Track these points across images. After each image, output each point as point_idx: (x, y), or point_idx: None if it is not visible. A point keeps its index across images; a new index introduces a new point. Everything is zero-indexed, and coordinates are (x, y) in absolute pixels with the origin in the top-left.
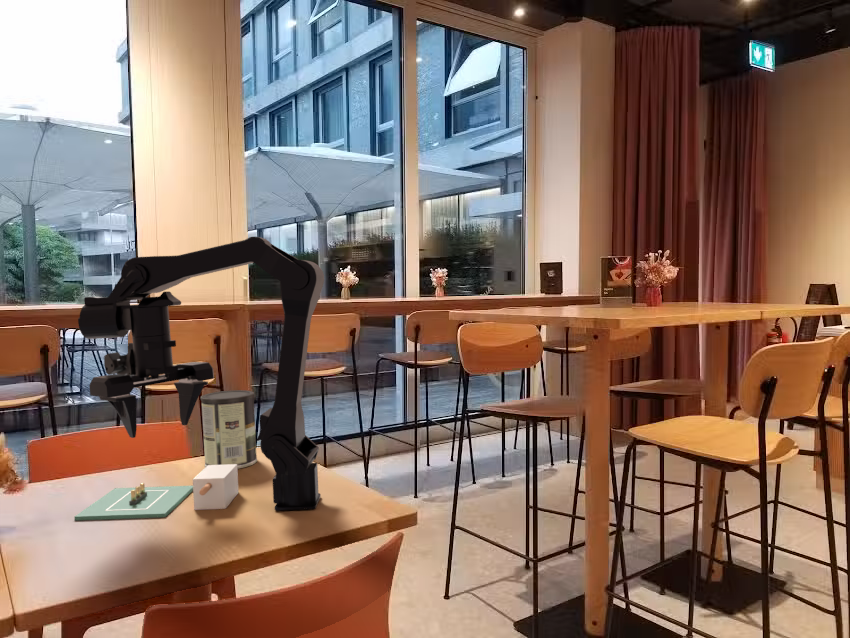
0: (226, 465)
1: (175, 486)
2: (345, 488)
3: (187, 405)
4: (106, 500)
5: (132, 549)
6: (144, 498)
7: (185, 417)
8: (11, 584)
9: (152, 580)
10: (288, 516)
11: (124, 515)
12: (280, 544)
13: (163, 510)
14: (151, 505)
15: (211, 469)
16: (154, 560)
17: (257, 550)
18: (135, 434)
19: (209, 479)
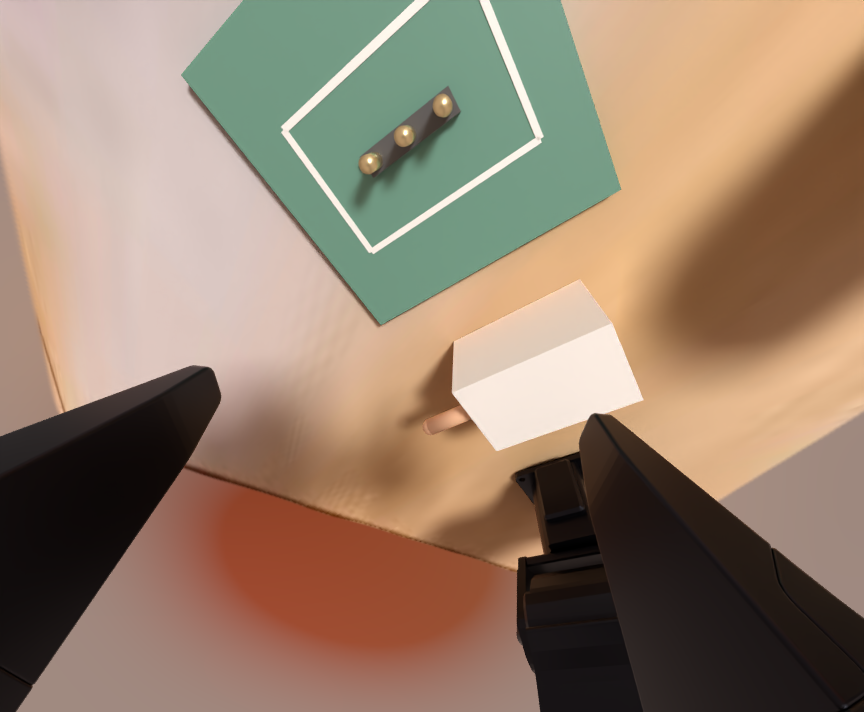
0: (620, 381)
1: (591, 120)
2: None
3: (632, 618)
4: None
5: (254, 394)
6: (431, 141)
7: (592, 496)
8: (48, 342)
9: (238, 481)
10: (502, 496)
11: (309, 232)
12: (408, 530)
13: (392, 303)
14: (399, 236)
15: (561, 372)
16: (264, 447)
17: (377, 520)
18: (209, 416)
19: (476, 424)
